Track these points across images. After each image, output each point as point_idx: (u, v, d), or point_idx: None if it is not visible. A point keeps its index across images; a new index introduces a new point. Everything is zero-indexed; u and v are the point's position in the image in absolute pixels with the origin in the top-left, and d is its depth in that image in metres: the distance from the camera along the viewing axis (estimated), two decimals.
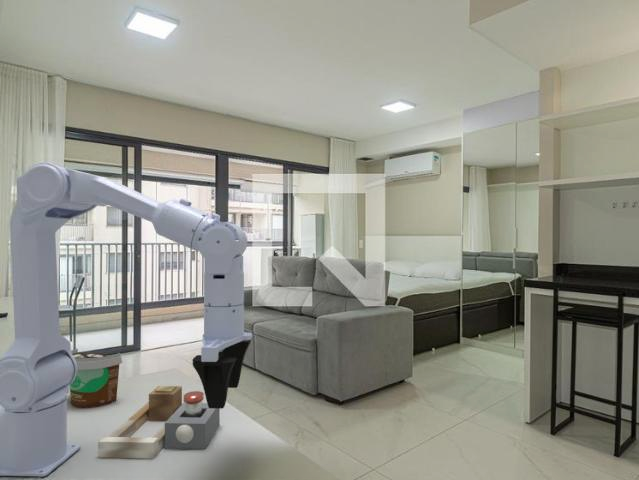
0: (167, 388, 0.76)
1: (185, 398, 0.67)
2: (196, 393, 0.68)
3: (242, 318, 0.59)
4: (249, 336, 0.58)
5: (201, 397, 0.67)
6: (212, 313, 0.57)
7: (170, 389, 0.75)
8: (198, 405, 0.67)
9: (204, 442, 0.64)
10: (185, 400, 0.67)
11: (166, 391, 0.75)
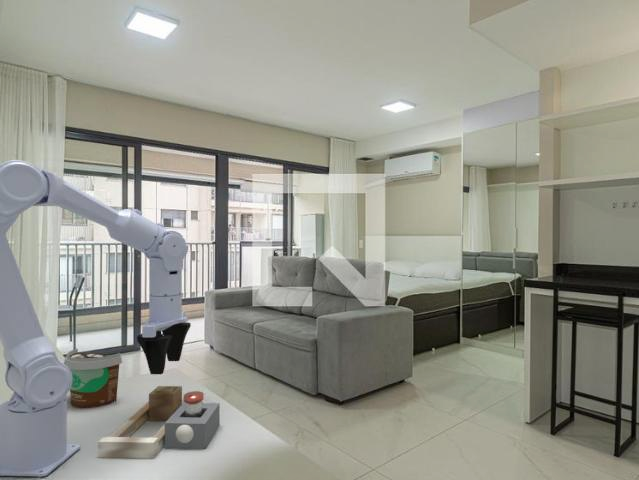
0: (167, 388, 0.76)
1: (185, 398, 0.67)
2: (196, 393, 0.68)
3: (179, 305, 0.75)
4: (184, 319, 0.75)
5: (201, 397, 0.67)
6: (154, 301, 0.73)
7: (170, 389, 0.75)
8: (198, 405, 0.67)
9: (204, 442, 0.64)
10: (185, 400, 0.67)
11: (166, 391, 0.75)
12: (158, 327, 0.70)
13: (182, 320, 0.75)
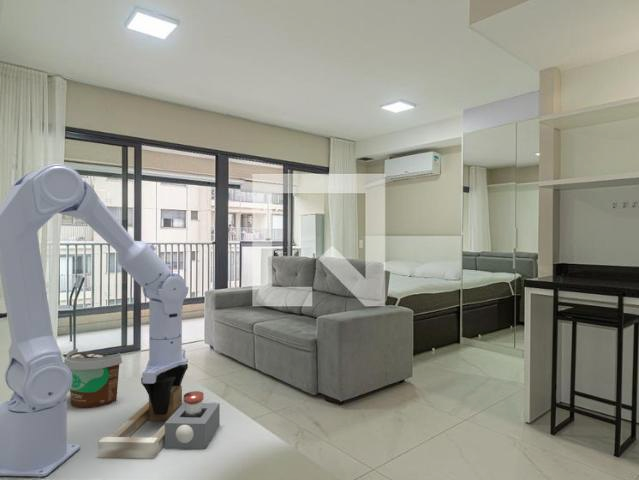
0: None
1: (185, 398, 0.67)
2: (196, 393, 0.68)
3: (179, 347, 0.75)
4: (184, 362, 0.75)
5: (201, 397, 0.67)
6: (154, 344, 0.73)
7: None
8: (198, 405, 0.67)
9: (204, 442, 0.64)
10: (185, 400, 0.67)
11: None
12: (158, 372, 0.70)
13: (182, 362, 0.75)
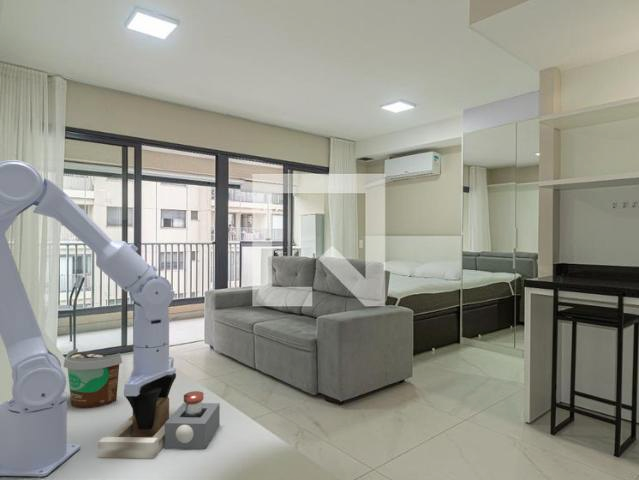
0: None
1: (185, 398, 0.67)
2: (196, 393, 0.68)
3: (166, 356, 0.69)
4: (172, 371, 0.69)
5: (201, 397, 0.67)
6: (138, 353, 0.67)
7: None
8: (198, 405, 0.67)
9: (204, 442, 0.64)
10: (185, 400, 0.67)
11: None
12: (142, 384, 0.64)
13: (169, 372, 0.69)
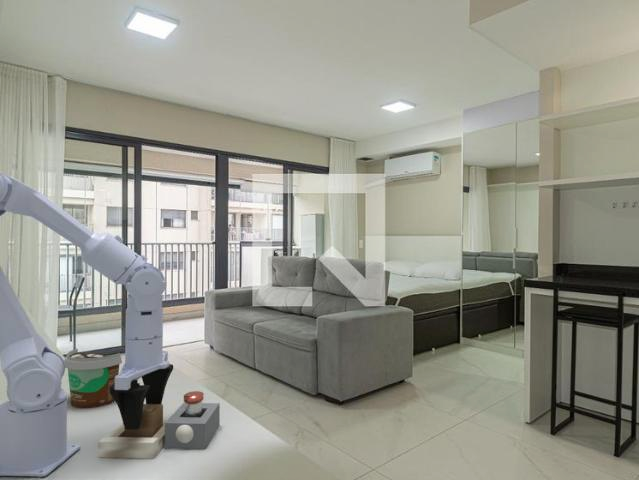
0: (146, 407, 0.67)
1: (185, 398, 0.67)
2: (196, 393, 0.68)
3: (159, 349, 0.67)
4: (165, 365, 0.66)
5: (201, 397, 0.67)
6: (130, 345, 0.65)
7: (149, 408, 0.67)
8: (198, 405, 0.67)
9: (204, 442, 0.64)
10: (185, 400, 0.67)
11: (144, 410, 0.66)
12: (133, 377, 0.61)
13: (162, 366, 0.66)
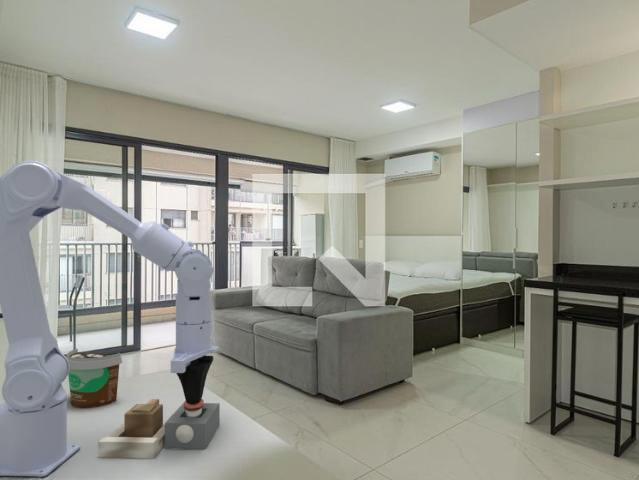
0: (146, 407, 0.67)
1: (185, 405, 0.67)
2: None
3: (209, 334, 0.67)
4: (215, 349, 0.67)
5: (201, 404, 0.67)
6: (182, 330, 0.65)
7: (149, 408, 0.67)
8: (198, 412, 0.67)
9: (204, 442, 0.64)
10: (185, 407, 0.67)
11: (144, 410, 0.66)
12: (188, 360, 0.62)
13: (212, 350, 0.67)
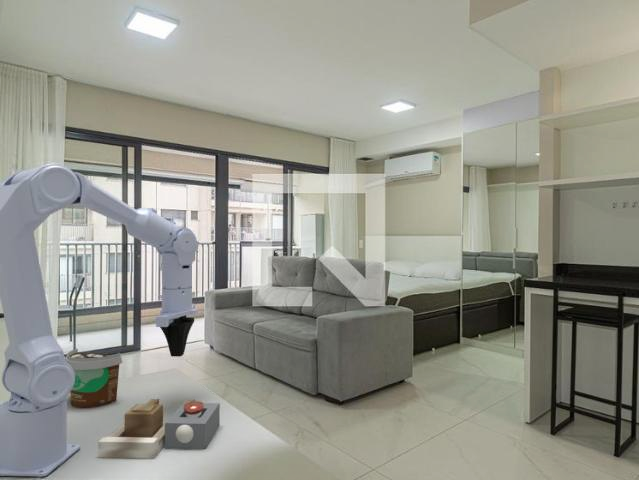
0: (146, 407, 0.67)
1: (185, 408, 0.67)
2: (196, 403, 0.68)
3: (190, 298, 0.80)
4: (195, 311, 0.80)
5: (201, 407, 0.67)
6: (167, 294, 0.78)
7: (149, 408, 0.67)
8: (198, 415, 0.67)
9: (204, 442, 0.64)
10: (185, 410, 0.67)
11: (144, 410, 0.66)
12: (171, 317, 0.75)
13: (192, 311, 0.79)
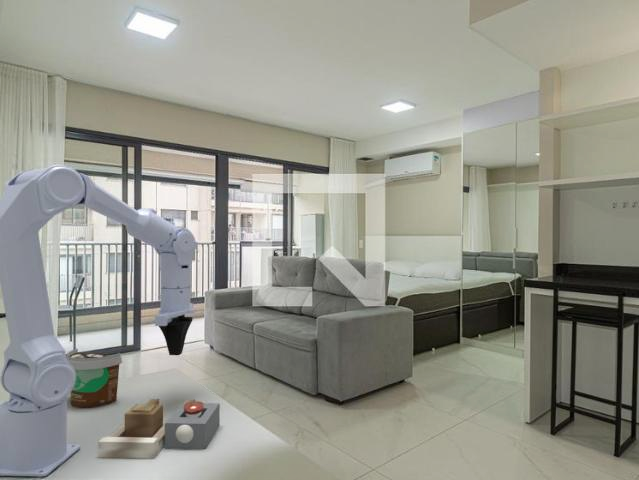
0: (146, 407, 0.67)
1: (185, 408, 0.67)
2: (196, 403, 0.68)
3: (188, 297, 0.81)
4: (193, 310, 0.81)
5: (201, 407, 0.67)
6: (165, 293, 0.79)
7: (149, 408, 0.67)
8: (198, 415, 0.67)
9: (204, 442, 0.64)
10: (185, 410, 0.67)
11: (144, 410, 0.66)
12: (169, 317, 0.76)
13: (191, 311, 0.81)
